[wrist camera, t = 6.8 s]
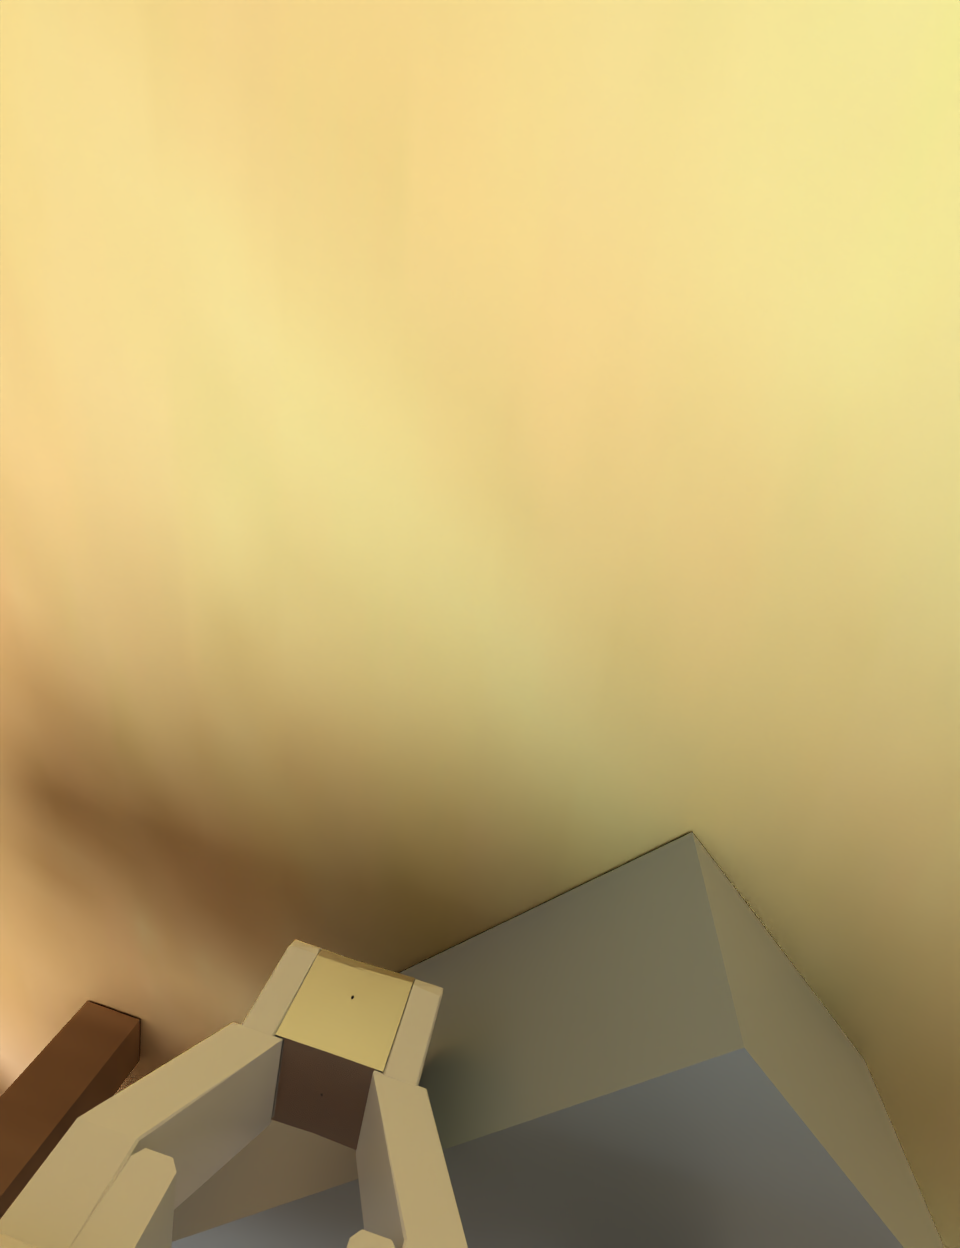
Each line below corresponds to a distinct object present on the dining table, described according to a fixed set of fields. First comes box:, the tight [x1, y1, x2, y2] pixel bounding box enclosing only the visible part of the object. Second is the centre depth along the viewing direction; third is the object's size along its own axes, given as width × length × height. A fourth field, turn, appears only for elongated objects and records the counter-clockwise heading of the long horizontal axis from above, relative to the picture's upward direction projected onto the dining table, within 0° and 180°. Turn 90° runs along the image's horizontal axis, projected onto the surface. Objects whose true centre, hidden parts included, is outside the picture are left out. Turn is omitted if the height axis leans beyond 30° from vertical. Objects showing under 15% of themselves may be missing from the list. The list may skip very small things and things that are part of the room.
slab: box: [171, 832, 945, 1248], centre depth 11 cm, size 12×6×4 cm, turn 128°
